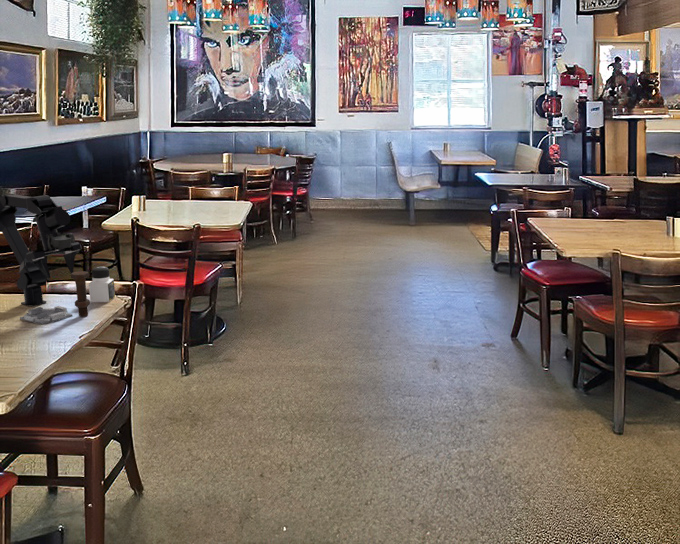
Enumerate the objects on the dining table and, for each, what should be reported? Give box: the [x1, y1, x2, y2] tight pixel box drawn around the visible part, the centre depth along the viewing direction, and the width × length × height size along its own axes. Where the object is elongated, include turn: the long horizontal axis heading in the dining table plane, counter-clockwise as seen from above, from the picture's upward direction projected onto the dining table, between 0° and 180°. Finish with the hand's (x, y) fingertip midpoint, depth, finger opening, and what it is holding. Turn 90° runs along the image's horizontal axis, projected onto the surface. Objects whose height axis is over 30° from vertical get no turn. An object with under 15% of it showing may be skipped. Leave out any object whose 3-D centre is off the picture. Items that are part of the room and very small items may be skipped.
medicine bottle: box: [88, 266, 116, 303], centre depth 292 cm, size 7×7×12 cm
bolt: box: [70, 270, 91, 318], centre depth 272 cm, size 6×5×15 cm
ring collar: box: [19, 305, 73, 326], centre depth 272 cm, size 13×13×2 cm
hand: (60, 275), depth 277 cm, fingers open, 9 cm apart
